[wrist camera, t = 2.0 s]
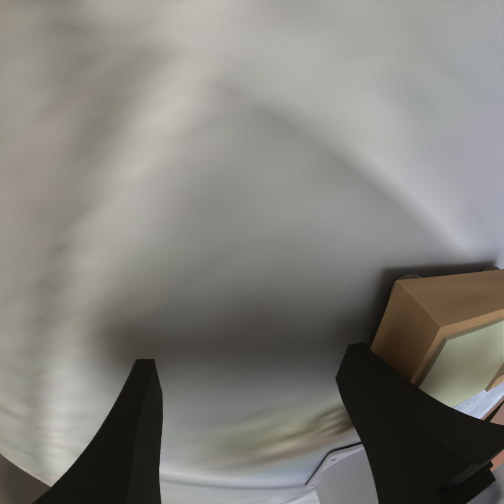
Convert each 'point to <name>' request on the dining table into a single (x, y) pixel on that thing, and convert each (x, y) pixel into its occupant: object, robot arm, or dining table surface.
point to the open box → (445, 332)
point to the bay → (496, 379)
